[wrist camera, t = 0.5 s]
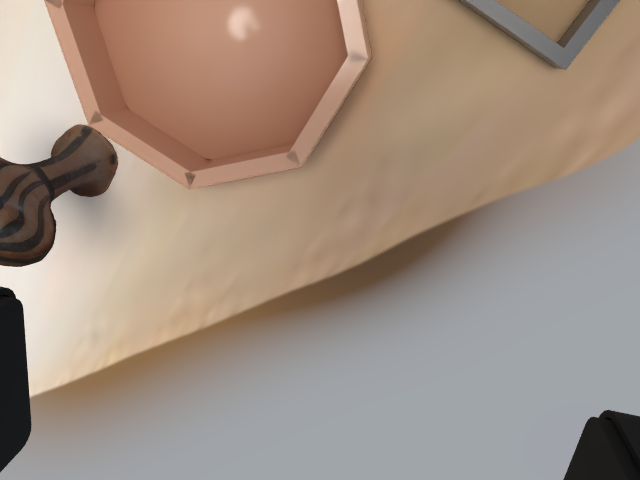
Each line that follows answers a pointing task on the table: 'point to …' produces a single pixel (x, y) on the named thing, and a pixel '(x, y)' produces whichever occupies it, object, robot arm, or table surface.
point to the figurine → (49, 192)
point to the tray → (535, 40)
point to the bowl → (213, 78)
